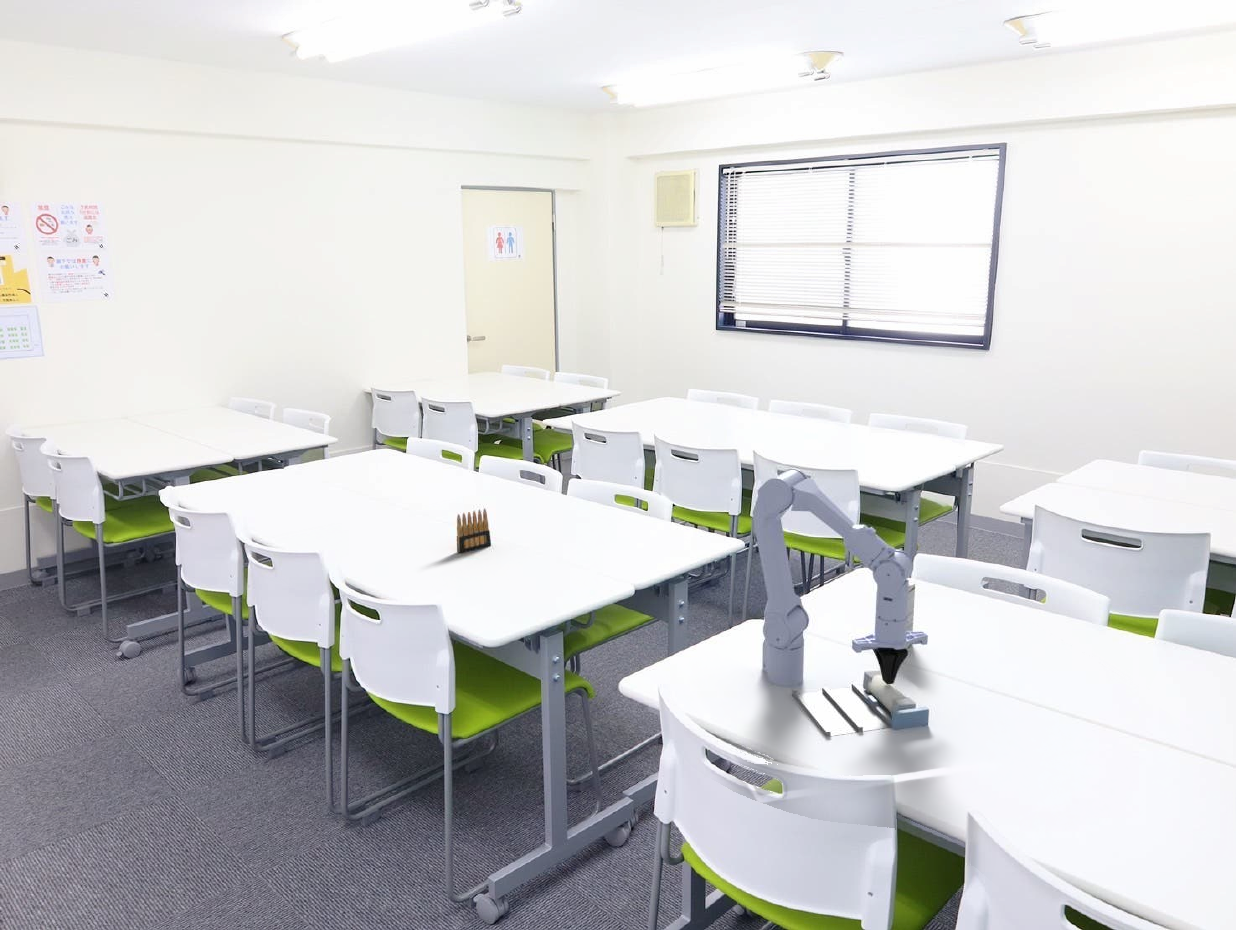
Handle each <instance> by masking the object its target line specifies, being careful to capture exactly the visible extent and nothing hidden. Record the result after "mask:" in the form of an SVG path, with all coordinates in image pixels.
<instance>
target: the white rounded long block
mask: <svg viewBox="0 0 1236 930" xmlns="http://www.w3.org/2000/svg"><path fill="white" fill-rule="evenodd" d="M863 673H864V674H863V680H862V682H863V683H862V686H863V688H864V689H865V690H866V691H867V692H868V693H872V694H873V695H874V696H875V697H876V698H877V699H878V700H879V701H880V702H881V703H882V704H883V705H884V706H885V707H886V708H887V709H888V710H889V711H890V712H891V716H892V711H899V710H906V709H913V708H917V703H916V702H915V701H914V700H913V699H912V698H911V697H908V698H906V697H905V696H904V695H903V694H902V693H901V692H900V690H899V689H898V688H897V687H896V686H895V685H893V684H886V683H885V682H884V681H883V680H882V674H881V670H869V671H868V670H867V671H864V672H863Z"/></svg>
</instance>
